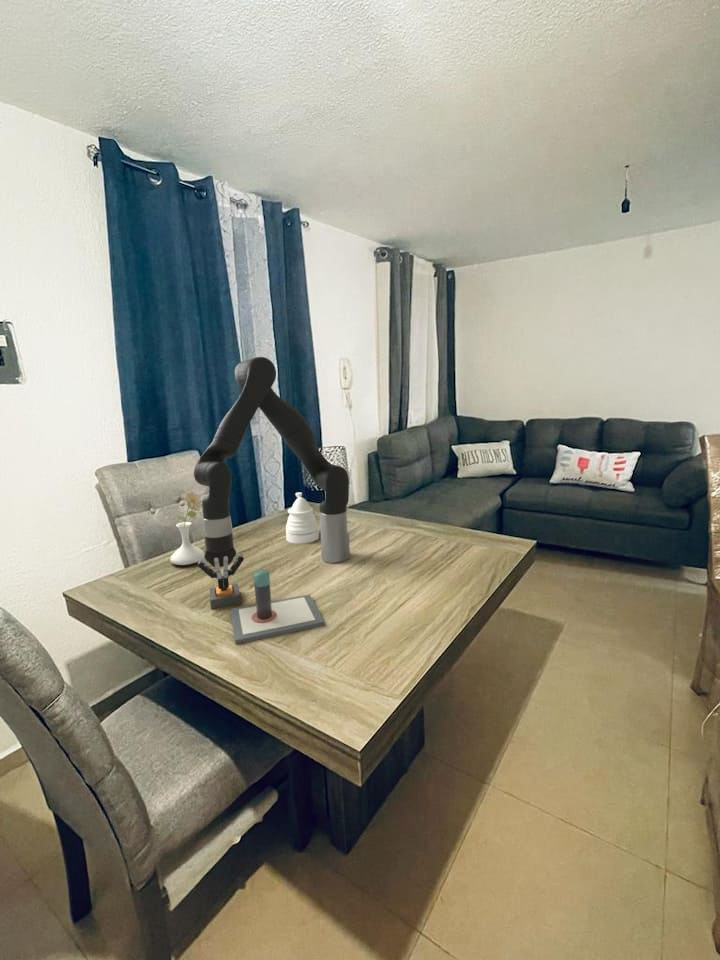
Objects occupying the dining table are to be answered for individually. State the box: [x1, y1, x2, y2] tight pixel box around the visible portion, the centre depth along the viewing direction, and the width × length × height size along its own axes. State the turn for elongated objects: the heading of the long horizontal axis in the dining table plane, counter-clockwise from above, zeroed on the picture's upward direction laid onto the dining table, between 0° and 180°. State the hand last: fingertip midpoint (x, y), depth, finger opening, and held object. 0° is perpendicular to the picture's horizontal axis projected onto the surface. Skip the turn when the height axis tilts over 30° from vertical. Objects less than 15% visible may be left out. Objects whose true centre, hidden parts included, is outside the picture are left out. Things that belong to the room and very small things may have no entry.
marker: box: [252, 569, 272, 620], centre depth 114 cm, size 4×4×12 cm
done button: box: [215, 584, 233, 597], centre depth 127 cm, size 4×4×2 cm
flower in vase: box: [169, 490, 205, 566], centre depth 153 cm, size 13×11×25 cm
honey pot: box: [285, 491, 320, 545], centre depth 174 cm, size 13×13×18 cm
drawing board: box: [230, 594, 325, 645], centre depth 116 cm, size 22×16×1 cm
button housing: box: [209, 582, 242, 610], centre depth 127 cm, size 8×8×3 cm
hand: (223, 589), depth 126 cm, fingers closed
